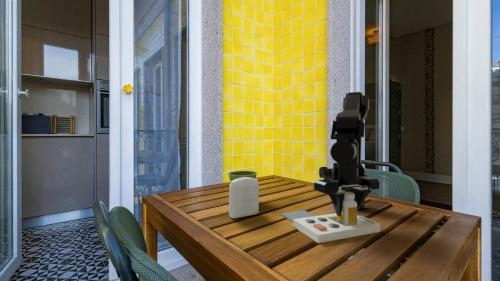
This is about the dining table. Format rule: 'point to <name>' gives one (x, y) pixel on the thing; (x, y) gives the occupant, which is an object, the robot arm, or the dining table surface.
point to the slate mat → (297, 215)
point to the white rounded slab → (243, 197)
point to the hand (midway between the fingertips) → (346, 214)
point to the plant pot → (242, 174)
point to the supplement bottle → (348, 210)
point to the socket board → (333, 227)
